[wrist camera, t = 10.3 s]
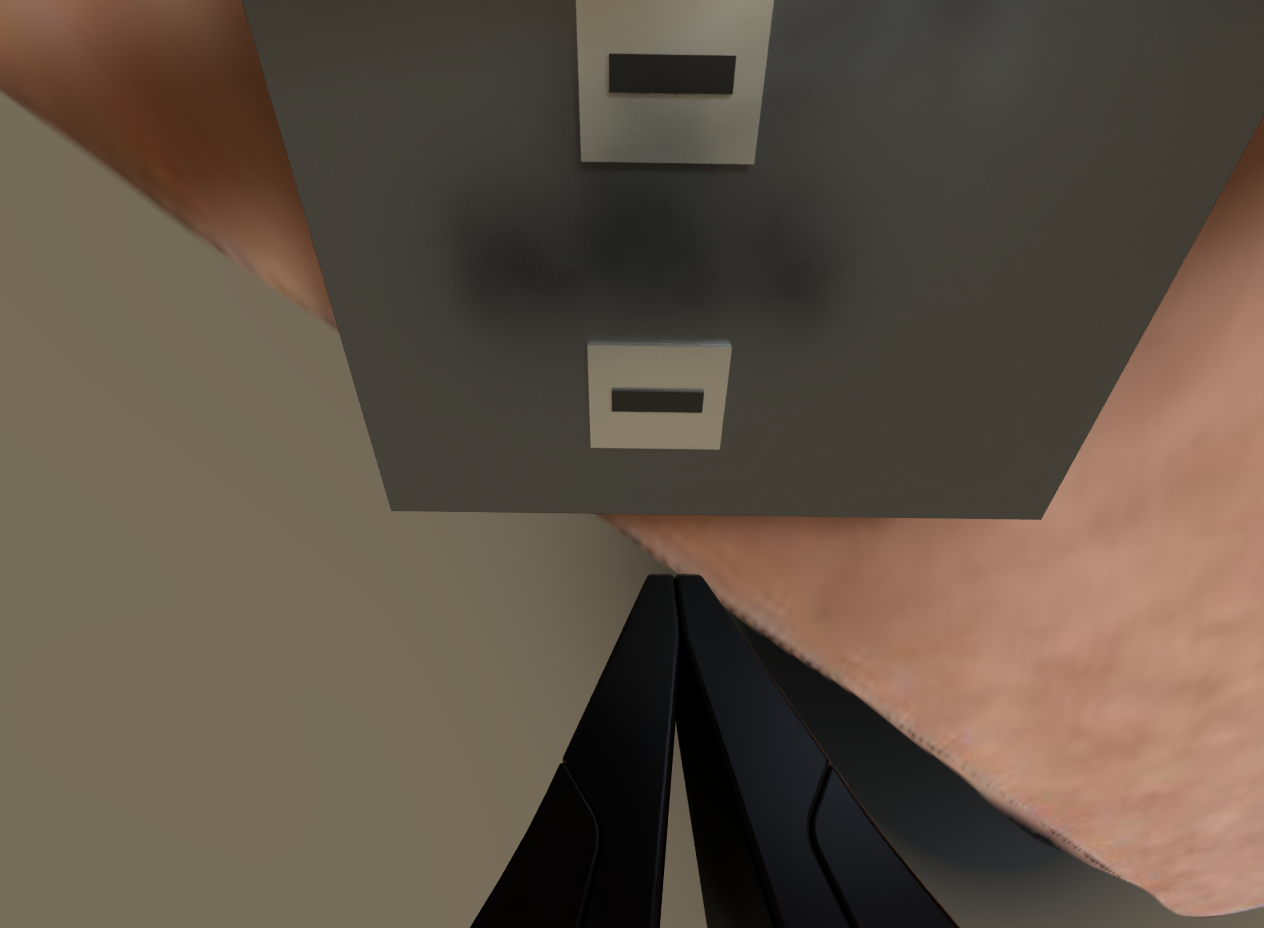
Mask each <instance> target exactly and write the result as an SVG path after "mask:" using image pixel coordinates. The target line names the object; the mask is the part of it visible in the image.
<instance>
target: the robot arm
mask: <svg viewBox="0 0 1264 928" xmlns="http://www.w3.org/2000/svg"><path fill="white" fill-rule="evenodd" d="M675 722H676V727H677V734H678V741H679V747H680V754H681V760H682V767H683V773H684V779H685V786H686V792H687V799H688V805H689V812H690V819H691V825H692V831H693V838H694V845H695V851H696V858H697V864H698V871H699V877H700V884H701V890H702V897H703V903H704V909H705V916H706V923H707V928H960V927H959V926H958V924H957V923H956V922H955V921H954V920H953V919H952V917H951V916H950V915H949V914H948V913H947V911H946V910H945V909H944V908H943V907H942V905H941V904H940V903H939V902H938V901H937V899H936V898H935V897H934V896H933V895H932V893H931V892H930V891H929V890H928V889H927V887H926V886H925V885H924V884H923V883H922V882H921V880H920V879H919V878H918V876H917V875H916V874H915V873H914V872H913V870H912V869H911V868H910V867H909V865H908V864H907V863H906V862H905V860H903V858H902V857H901V855H900V854H899V853H898V852H897V851H896V849H895V848H894V847H893V846H892V844H891V843H890V842H889V841H888V839H887V838H886V837H885V836H884V834H883V833H882V832H881V830H880V829H879V828H878V826H877V825H876V823H875V822H874V821H873V819H872V818H871V817H870V815H869V814H868V813H867V811H866V810H865V808H864V807H863V806H862V804H861V803H860V802H859V800H858V799H857V798H856V796H855V795H854V794H853V792H852V791H851V789H850V788H849V786H848V785H847V783H846V782H845V780H844V779H843V778H842V776H841V775H840V773H839V772H838V770H837V769H836V768H835V767H834V766H830V764H831V762H830V760H829V758H828V756H827V755H826V754H825V752H824V751H823V749H822V748H821V747H820V745H819V744H818V742H817V741H816V739H815V738H814V736H813V735H812V733H811V732H810V731H809V729H808V728H807V726H806V725H805V724H804V722H803V721H802V719H801V718H800V716H799V715H798V714H797V712H796V711H795V709H794V708H793V706H792V705H791V703H790V702H789V701H788V699H787V698H786V696H785V695H784V693H783V692H782V691H781V689H780V688H779V686H778V685H777V683H776V682H775V680H774V679H773V678H772V676H771V675H770V673H769V672H768V671H767V669H766V667H765V666H764V665H763V663H762V662H761V660H760V659H759V657H758V656H757V655H756V653H755V652H754V650H753V649H752V647H751V646H750V645H749V643H748V642H747V640H746V639H745V638H744V636H743V635H742V633H741V632H740V630H739V629H738V627H737V626H736V624H735V623H734V622H733V620H732V619H731V617H730V616H729V615H728V613H727V612H726V610H725V609H724V607H723V606H722V604H721V603H720V602H719V600H718V599H717V597H716V596H715V594H714V593H713V591H712V590H711V589H710V587H709V586H708V584H707V583H706V581H705V580H704V579H703V577H702V576H700V575H694V574H678V575H677V576H675V578H674V577H673V575H671V574H650V575H648V576H647V578H646V580H645V582H644V584H643V586H642V588H641V590H640V593H639V595H638V597H637V599H636V601H635V603H634V606H633V608H632V610H631V612H630V614H629V616H628V619H627V621H626V623H625V625H624V627H623V629H622V632H621V634H620V636H619V638H618V640H617V642H616V644H615V647H614V649H613V651H612V653H611V655H610V657H609V660H608V662H607V664H606V666H605V668H604V670H603V672H602V675H601V677H600V679H599V681H598V683H597V685H596V688H595V690H594V692H593V694H592V696H591V698H590V701H589V703H588V705H587V707H586V709H585V712H584V713H583V716H582V718H581V720H580V722H579V724H578V726H577V729H576V731H575V733H574V735H573V737H572V739H571V741H570V744H569V746H568V748H567V750H566V752H565V755H564V757H563V763H561V764H560V765H559V767H558V769H557V771H556V773H555V775H554V778H553V779H552V782H551V784H550V786H549V788H548V790H547V792H546V794H545V796H544V798H543V800H542V802H541V804H540V806H539V808H538V810H537V812H536V814H535V816H534V818H533V820H532V822H531V824H530V826H529V828H528V830H527V832H526V834H525V835H524V837H523V839H522V841H521V842H520V844H519V846H518V848H517V850H516V851H515V853H514V855H513V856H512V858H511V860H510V862H509V864H508V865H507V867H506V869H505V871H504V872H503V874H502V876H501V877H500V879H499V881H498V882H497V884H496V886H495V887H494V889H493V891H492V892H491V894H490V896H489V897H488V899H487V901H486V902H485V904H484V905H483V907H482V909H481V910H480V912H479V914H478V916H477V917H476V918H475V920H474V922H473V924H472V925H471V927H470V928H660V918H661V905H662V892H663V879H664V866H665V853H666V839H667V826H668V814H669V801H670V788H671V775H672V762H673V761H672V760H673V748H674V735H675Z"/></svg>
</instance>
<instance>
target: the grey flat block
mask: <svg viewBox="0 0 1264 928" xmlns="http://www.w3.org/2000/svg"><path fill="white" fill-rule="evenodd" d="M242 2H243V6H244V9H245V12H246V16H247V19H248V23H249V26H250V29H251V33H252V36H253V40H254V43H255V47H256V50H257V53H258V57H259V60H260V64H261V67H262V70H263V74H264V77H265V81H266V84H267V88H268V91H269V94H270V98H271V101H272V105H273V108H274V111H275V115H276V118H277V122H278V125H279V129H280V132H281V135H282V139H283V142H284V146H285V149H286V152H287V156H288V159H289V163H290V166H291V170H292V173H293V176H294V180H295V183H296V187H297V190H298V193H299V197H300V200H301V204H302V207H303V211H304V214H305V217H306V221H307V224H308V228H309V231H310V234H311V238H312V241H313V245H314V248H315V252H316V255H317V258H318V262H319V265H320V269H321V272H322V275H323V279H324V282H325V286H326V289H327V293H328V296H329V299H330V303H331V306H332V310H333V313H334V316H335V320H336V323H337V327H338V330H339V334H340V337H341V340H342V344H343V347H344V351H345V354H346V357H347V360H348V364H349V368H350V371H351V374H352V378H353V381H354V385H355V388H356V392H357V395H358V398H359V402H360V405H361V409H362V412H363V416H364V419H365V422H366V426H367V429H368V433H369V436H370V439H371V443H372V446H373V449H374V453H375V457H376V460H377V463H378V467H379V470H380V473H381V477H382V480H383V484H384V487H385V491H386V494H387V497H388V501H389V504H390V507H391V510H392V511H448V512H520V513H521V512H523V513H592V514H666V515H740V516H813V517H887V518H961V519H1034V520H1041V519H1042V517H1043V515H1044V513H1045V511H1046V510H1047V508H1048V506H1049V504H1050V502H1051V501H1052V499H1053V497H1054V495H1055V493H1056V491H1057V490H1058V488H1059V486H1060V484H1061V482H1062V481H1063V479H1064V477H1065V475H1066V473H1067V472H1068V470H1069V468H1070V466H1071V464H1072V462H1073V461H1074V459H1075V457H1076V455H1077V453H1078V452H1079V450H1080V448H1081V446H1082V444H1083V442H1084V441H1085V439H1086V437H1087V435H1088V433H1089V432H1090V430H1091V428H1092V426H1093V424H1094V423H1095V421H1096V419H1097V417H1098V415H1099V413H1100V412H1101V410H1102V408H1103V406H1104V404H1105V403H1106V401H1107V399H1108V397H1109V395H1110V393H1111V392H1112V390H1113V388H1114V386H1115V384H1116V383H1117V381H1118V379H1119V377H1120V375H1121V374H1122V372H1123V370H1124V368H1125V366H1126V364H1127V363H1128V361H1129V359H1130V357H1131V355H1132V354H1133V352H1134V350H1135V348H1136V346H1137V344H1138V343H1139V341H1140V339H1141V337H1142V335H1143V334H1144V332H1145V330H1146V328H1147V326H1148V325H1149V323H1150V321H1151V319H1152V317H1153V315H1154V314H1155V312H1156V310H1157V308H1158V306H1159V305H1160V303H1161V301H1162V299H1163V297H1164V295H1165V294H1166V292H1167V290H1168V288H1169V286H1170V285H1171V283H1172V281H1173V279H1174V277H1175V276H1176V274H1177V272H1178V270H1179V268H1180V266H1181V265H1182V263H1183V261H1184V259H1185V257H1186V256H1187V254H1188V252H1189V250H1190V248H1191V246H1192V245H1193V243H1194V241H1195V239H1196V237H1197V236H1198V234H1199V232H1200V230H1201V228H1202V227H1203V225H1204V223H1205V221H1206V219H1207V217H1208V216H1209V214H1210V212H1211V210H1212V208H1213V207H1214V205H1215V203H1216V201H1217V199H1218V197H1219V196H1220V194H1221V192H1222V190H1223V188H1224V187H1225V185H1226V183H1227V181H1228V179H1229V178H1230V176H1231V174H1232V172H1233V170H1234V168H1235V167H1236V165H1237V163H1238V161H1239V159H1240V158H1241V156H1242V154H1243V152H1244V150H1245V148H1246V147H1247V145H1248V143H1249V141H1250V139H1251V138H1252V136H1253V134H1254V132H1255V130H1256V129H1257V127H1258V125H1259V123H1260V121H1261V119H1262V118H1263V116H1264V0H242Z"/></svg>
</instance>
